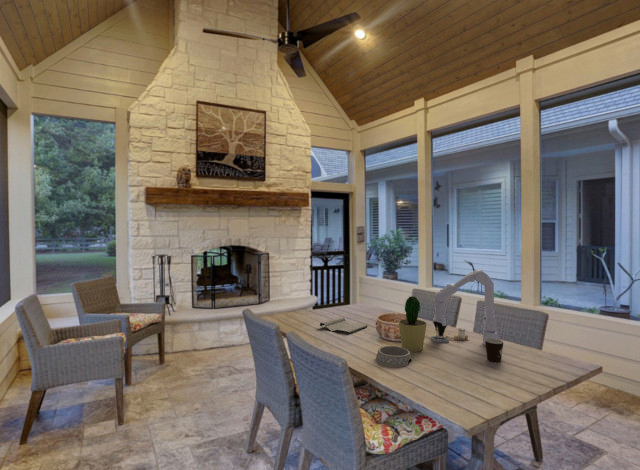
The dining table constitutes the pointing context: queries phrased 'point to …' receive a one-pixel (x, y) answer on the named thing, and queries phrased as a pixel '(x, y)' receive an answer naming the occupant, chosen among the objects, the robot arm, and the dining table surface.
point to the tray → (439, 340)
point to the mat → (342, 325)
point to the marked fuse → (438, 333)
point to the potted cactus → (412, 326)
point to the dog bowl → (393, 356)
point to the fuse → (461, 334)
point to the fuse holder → (457, 338)
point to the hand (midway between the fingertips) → (439, 334)
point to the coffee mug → (494, 350)
